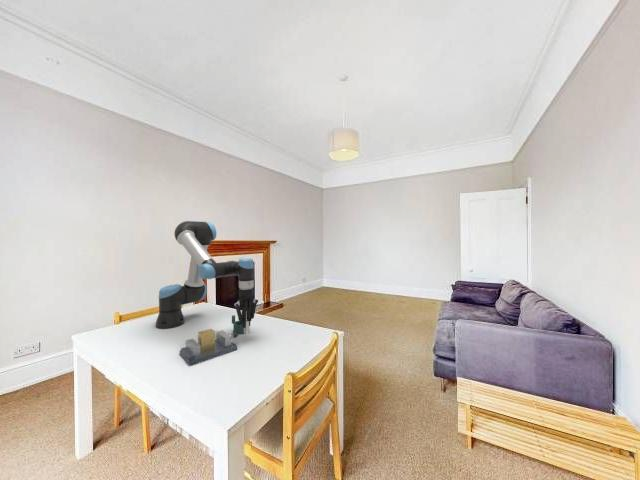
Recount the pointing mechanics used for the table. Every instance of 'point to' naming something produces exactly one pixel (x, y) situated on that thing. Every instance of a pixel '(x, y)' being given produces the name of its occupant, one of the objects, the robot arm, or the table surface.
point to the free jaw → (225, 338)
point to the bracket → (237, 326)
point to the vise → (195, 355)
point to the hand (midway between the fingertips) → (246, 333)
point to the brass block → (206, 339)
